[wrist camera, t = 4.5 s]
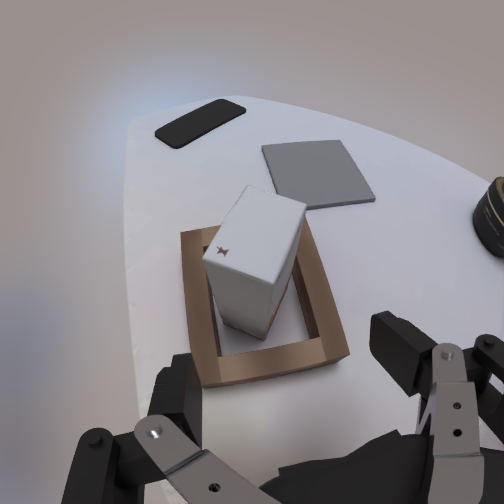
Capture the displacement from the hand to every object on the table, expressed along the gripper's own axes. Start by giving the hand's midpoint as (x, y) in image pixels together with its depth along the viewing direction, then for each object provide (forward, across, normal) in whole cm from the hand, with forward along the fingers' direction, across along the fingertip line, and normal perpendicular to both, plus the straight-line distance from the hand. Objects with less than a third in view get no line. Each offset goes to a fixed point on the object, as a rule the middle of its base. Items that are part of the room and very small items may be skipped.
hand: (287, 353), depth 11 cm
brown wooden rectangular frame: (+14, 0, +4) cm, 15 cm away
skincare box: (+14, 0, +4) cm, 15 cm away
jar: (+15, -37, +3) cm, 40 cm away
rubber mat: (+25, -11, -7) cm, 29 cm away
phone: (+37, +3, -18) cm, 41 cm away
